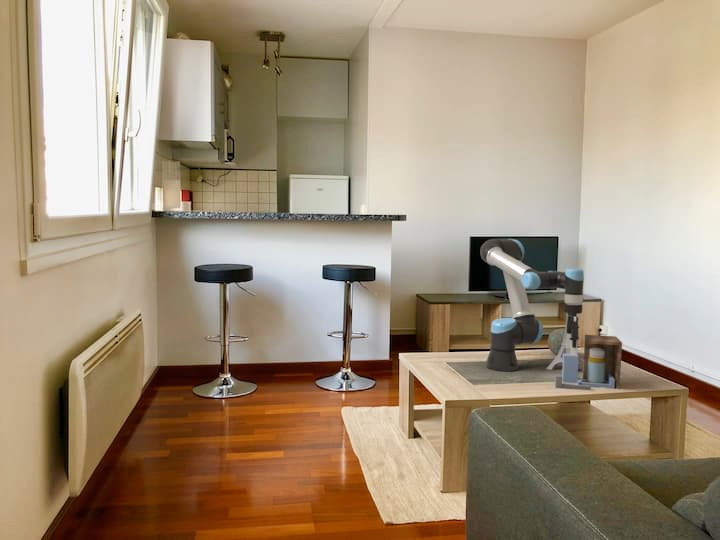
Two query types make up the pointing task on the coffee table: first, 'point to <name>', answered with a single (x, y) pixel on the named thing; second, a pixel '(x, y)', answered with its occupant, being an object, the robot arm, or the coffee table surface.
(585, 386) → the grey long bar
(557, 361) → the eiffel tower
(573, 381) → the pale blue bracket stand
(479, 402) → the coffee table surface
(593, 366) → the bottle
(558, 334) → the decorative sphere
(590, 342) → the cubby
